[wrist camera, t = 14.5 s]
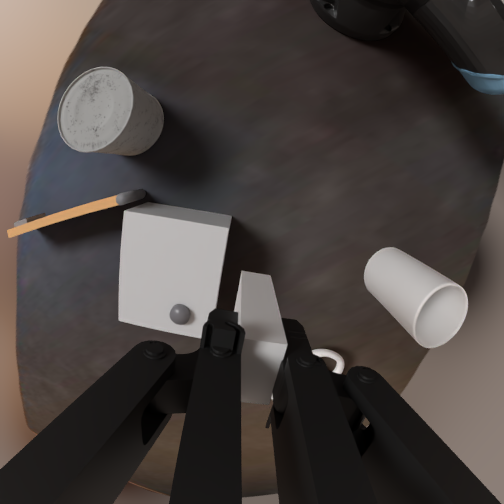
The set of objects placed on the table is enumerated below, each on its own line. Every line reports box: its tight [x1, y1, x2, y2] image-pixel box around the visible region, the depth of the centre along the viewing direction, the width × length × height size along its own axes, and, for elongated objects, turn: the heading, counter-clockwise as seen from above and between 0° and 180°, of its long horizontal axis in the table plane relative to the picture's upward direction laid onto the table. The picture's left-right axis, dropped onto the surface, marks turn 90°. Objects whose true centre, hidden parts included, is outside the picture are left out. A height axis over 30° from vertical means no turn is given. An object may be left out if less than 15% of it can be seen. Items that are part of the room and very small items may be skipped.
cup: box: [364, 247, 468, 348], centre depth 36 cm, size 8×8×16 cm
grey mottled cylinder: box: [57, 67, 164, 156], centre depth 31 cm, size 10×10×12 cm
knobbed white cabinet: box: [119, 202, 232, 338], centre depth 38 cm, size 15×12×10 cm
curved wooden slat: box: [7, 189, 146, 238], centre depth 36 cm, size 22×2×7 cm, turn 100°
